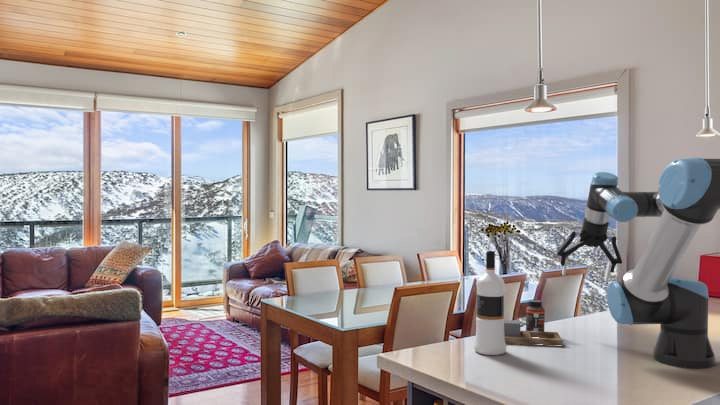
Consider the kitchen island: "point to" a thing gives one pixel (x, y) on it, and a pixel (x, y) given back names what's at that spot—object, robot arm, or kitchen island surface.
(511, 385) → the kitchen island surface
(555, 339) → the brown wooden frame
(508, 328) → the block
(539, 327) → the supplement bottle
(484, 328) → the vodka
